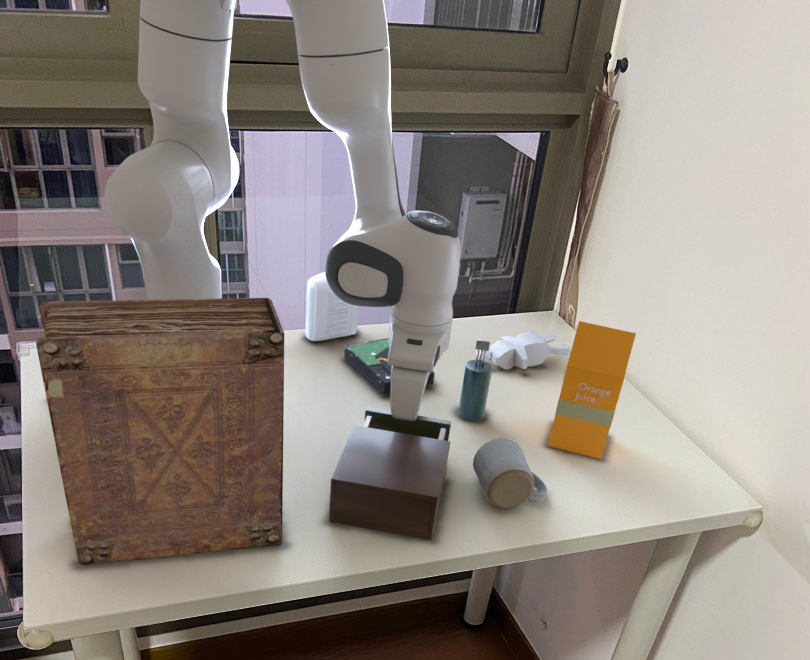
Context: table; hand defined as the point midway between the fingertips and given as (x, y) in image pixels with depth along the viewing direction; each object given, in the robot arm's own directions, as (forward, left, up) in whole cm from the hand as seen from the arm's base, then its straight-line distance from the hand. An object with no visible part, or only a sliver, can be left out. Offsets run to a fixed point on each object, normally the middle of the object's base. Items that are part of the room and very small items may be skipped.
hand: (410, 416), depth 129 cm
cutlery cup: (+9, +13, -5) cm, 16 cm away
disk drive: (-7, +23, -5) cm, 24 cm away
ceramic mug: (+17, -9, -5) cm, 20 cm away
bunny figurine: (+17, +36, -5) cm, 40 cm away
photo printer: (-20, +34, -5) cm, 40 cm away
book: (-25, -30, -5) cm, 40 cm away
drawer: (0, -6, -4) cm, 7 cm away
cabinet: (0, -16, -5) cm, 17 cm away
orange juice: (+27, +10, -5) cm, 29 cm away
